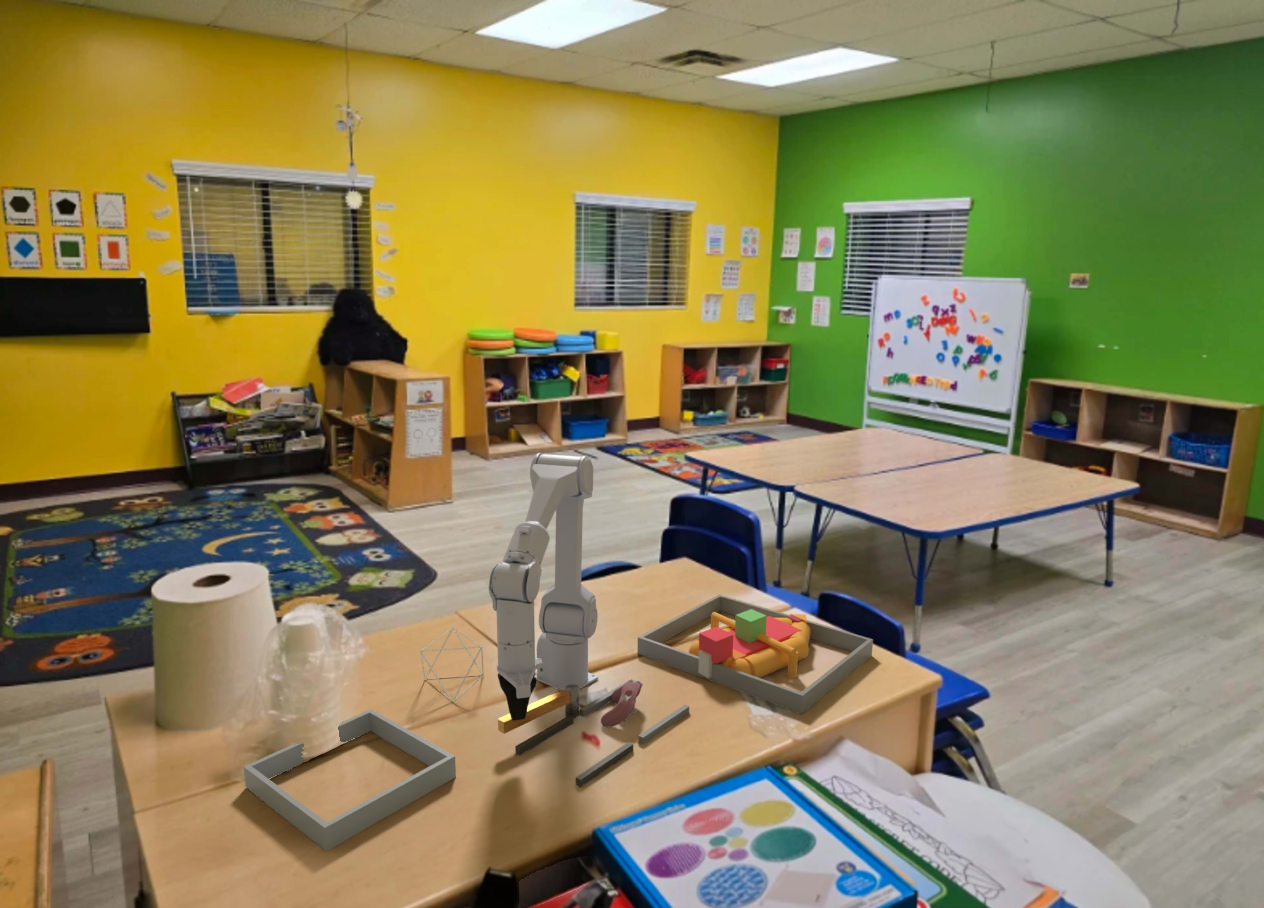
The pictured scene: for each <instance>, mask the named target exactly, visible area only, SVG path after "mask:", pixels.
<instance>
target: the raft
mask: <svg viewBox="0 0 1264 908" xmlns="http://www.w3.org/2000/svg"><path fill="white" fill-rule="evenodd" d="M789 615H790V616H789V617H788V618H773V617H770V616H768V617H767V616H766V615H764V614H762V613H759V612H757V611H755V610H752V609H750V610H748V611H745V612H742V613H740V614H737V615H736V616H735V617H734V618H735V620H734V619H731V618H729V617H727V616H724V615H723V614H720V613H719V612H717V613H716V612H713V613H712V614H711V616H710V629H707V630H704V631H701V632H699V633H698V639H697V640H696V641H694V642H693V643H691V645H690V646H689V649H688V653H690V654H693V655H696V656H699V669H698V673H700V674H702V675H703V676H705V677H707V678H710V677H711V676H712V663H715V664H717V663H718V664H721V665H724V666H727V667H730V668H733V669H735V670H738V671H741V672H744V673H747V674H750V675H752V676H755V677H758V678H761V679H762V678H764V677H766V676H768V675H771V674H772V673H774V672H777V671H779V670H782V669H783V668H786V667H787V676H788V677H790V678H792V679H793V678H797V677H798V662H799V661H802V660H804V659H805V658H807V657H808V656H809V653H810V647H809V642H810V633H811V631H810V627H809V626H808V625H807V616H806V615H807V614H798V613H797V614H796V613H795V614H794V613H790V614H789ZM720 623H721V624H724V625H726V626H727V627H725V628H721V627H720Z"/></svg>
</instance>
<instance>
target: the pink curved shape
mask: <svg viewBox="0 0 1264 908" xmlns="http://www.w3.org/2000/svg"><path fill="white" fill-rule="evenodd" d="M623 684H624V683H623ZM643 685H644V684H643V683H642V682H641V681H640V680H636V679H635V680H634V679H633V678H631V679H628V680H627V681H626V684H624V685H623V686H621V687H619V686H618V687H619V688H618V689H616V690H615V691H614V692H613V693H612V695H611V699H612V702H613V703H617V704H616V705H615V706H614V707H613V708H612V709H610V710H608V711H607V712H605V713H604V714H602V717H601V719H600V724H601V725H602V726H603V727H604V728H605V727H606V728H612V727H615V726H617V725H619V724H621V723H622V722H625V721H626V720H628V718H629V716H630V715H632V716H634V715H635V714H636V713H637V709H638V708H635V707H636V704H637V703H636V702H637V700H636V699H637V697H638V696H639V695H640V693H641V691H642V687H643Z"/></svg>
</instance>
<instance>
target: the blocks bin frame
mask: <svg viewBox="0 0 1264 908" xmlns="http://www.w3.org/2000/svg"><path fill="white" fill-rule="evenodd" d="M750 609H752V610H755V611H757V612H759V613H762V614H764V615H766V616H767V617H768V616H770V617H773V618H788V617H789V616H790V614H787V613H783V612H780V611H776V610H775V609H771V608H767V607H763V606H760V605H756V604H753V603H749V602H746V601H742V600H740V599H736V598H733V597H730V596H729V597H728V596H725V595H723V594H717V595H715V596H714V597H712V598H710V599H708V600H706V601H704V602H701V603H700V604H698V605H696V606H694V607H692V608H691V609H689V610H687V611H685V612H683V613H682V614H679V615H677V616H675V617H674V618H672V619H670V620H668V621H666V622H663V624H660V625H658V626H656V627H655V628H653V629H651V630H649V631H647V632H645V633H643V634H641V635H639V636H637V654H638V655H641V656H644V657H647V658H649V659H651V660H653V661H657V662H659V663H663V664H665V665H667V666H670V667H673V668H676V669H679V670H681V671H683V672H687V673H689V674H692V675H695V676H697V677H700V678H703V679H706V680H708V681H711V682H714V683H716V684H719V685H722V686H724V687H727V688H729V689H732V690H735V691H738V690H739V691H738V692H740V691H742V692H741V693H743V692H744V693H743V694H746V695H749V696H751V695H752V697H755V698H758V699H760V700H763V701H765V702H768V703H771V704H772V705H776V706H779V707H781V706H782V707H781V708H784V709H786V708H788V709H787V710H789V709H790V711H793V712H795V713H798V714H800V715H802V714H804V713H805V712H806V711H808V709H810V708H811V707H812V706H813V705H814V704H816V703H817V702H819V700H820V699H822V698H823V697H824V696H825V695H827V693H829V692H830V691H831V690H833V689H834V688H835V687H836V686H837V685H838V684H840V683H841V682H842V681H844V680H845V679H846V677H848V676H849V675H851V673H853V672H854V671H855V670H857V669H858V668H859V667H860V666H861V665H863V664H864V663H865V662H866V661H868V659H870V657H872V656H873V646H874V645H873V644H874V639H872V638H870V637H866V636H863V635H859V634H855V633H853V632H849V631H846V630H841V629H839V628H836V627H831V626H829V625H825V624H821V623H818V622H814V621H811V620H809V619H808V620H807V625H808V626H809V627H810V631H811V633H810V638H809V640H810V639H811V640H814V641H816V642H819V643H824V644H826V645H829V646H834V647H836V648H839V649H844V650H846V651H849V652H850V653H849V654H847V655H846V656H845V657H843V658H842V659H841V660H839V662H837V663H836V664H835V665H833V667H831V668H830V669H828V670H827V671H826V672H824V674H823V675H821V676H820V677H819V678H817V679H816V680H815V681H813V682H812V683H811V684H810V685H808V686H807V687H806V688H805V689H803V690H802V691H797V690H795V689H792V688H789V687H786V686H784V685H781V684H777V683H775V682H772V681H770V680H766V679H763V678H762V677H761V678H758V677H755V676H752V675H750V674H747V673H744V672H741V671H738V670H735V669H733V668H730V667H727V666H724V665H721V664H718V663H717V664H715V663H712V676H711V677H710V678H707V677H705V676H703V675H702V674H700V673H698V669H699V656H696V655H693V654H690V653H689V652H687V651H684V650H681V649H678V648H676V647H672V646H669V645H666V644H665V643H664V642H666V641H668V640H670V639H671V638H673V637H675V636H677V635H679V634H681V633H682V632H684V631H686V630H687V629H690V628H691V627H693V626H695V625H697V624H699V623H701V622H702V621H704V620H706V619H707V618H711V614H712V613H713V612H716V613H719V612H722V613H725V614H729V615H731V616H735V617H736V615H737V614H740V613H742V612H745V611H748V610H750Z"/></svg>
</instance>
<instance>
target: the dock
mask: <svg viewBox="0 0 1264 908" xmlns="http://www.w3.org/2000/svg"><path fill="white" fill-rule="evenodd" d="M626 682H627V681H626ZM626 682H624V683H622V684H620V685H618V686H617V687H616V688H613V689H611V690H610V691H608V692H607V693H605V694H603V695H602V696H600V697H598V698H597V699H595V700H593V701H591V702H589V703H588V704H586V705H585V706H582V707H580V708H579V717H582V718H585V717H587V716H589V715H590V714H592V713H593V712H596V711H597V710H599V709H601V708H602V707H604V706H605V704H606V705H608V704H609V703H610V702H613V700H612V699H611V695H612V693H613V692H614V691H615V690H616V689H618V688H619V687H621V686H623V685H624V684H626ZM608 702H609V703H608ZM688 714H690V706H689V705H687V704H684V705H682V706H680V707H679V708H678V709H676V710H675V711H672V712H671V713H670V714H669V715H667V716H665V717H663V719H661V720H659V721H658V722H656V723H655V724H653V725H651V726H650V727H648V728H647V729H645V731H642V733H639V735H637V743H639V744H641V745H644V744H645V743H647V742H649V741H650V740H651V739H653V738H654V737H656V736H657V735H659V734H661V733H662V732H663V731H665V730H666V729H667V728H669V727H671V726H672V725H673V724H675V723H676V722H678V721H679V720H681V719H682V718H684V717H685V716H687V715H688ZM574 721H575V718H574V717H573V716H570V715H568V716H567V717H566V716H564V718H561V719H560V720H559V721H557V722H555V723H553V724H552V725H550V726H548V727H546V728H545V729H542V730H541V731H539V732H538V733H536V734H534V735H532V736H530V737H529V738H527V739H526V740H524V741H522V742H520V743H519V744H516V745H515V746H514V747H515V754H516V755H518V756H521V755H523V754H525V753H526V752H528V751H529V750H531V749H533V748H535V747H536V746H538V745H540V744H541V743H544V742H545V741H546V740H548V739H550V738H552V737H554V736H556V735H557V734H558V733H560V732H562V731H563V730H565V729H568V727H570V726H571V725H573V724H575V723H574ZM632 752H634V743H632V742H629V741H628V742H626V743H625V744H623V745H621V746H620V747H619V748H617V749H616V750H614V751H613V752H612V753H610V754H609V755H607V756H606V757H604V758H603V759H601V760H599V761H598V762H596V763H594V764H593V765H592V766H590V767H589V768H587V769H585V771H582V772H581V773H580V774H579V775H576V776H575V785H576V786H577V787H580V788H581V787H583V786H585V785H586V784H587V783H589V782H590V781H592V780H594V779H595V778H596V777H598V776H599V775H600V774H602V773H603V772H605V771H606V770H607V769H609V768H611V767H612V766H613V765H615V764H617V763H618V762H619V761H621V760H622V759H624V758H625V757H627V756H628V755H630V754H631V753H632Z"/></svg>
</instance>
